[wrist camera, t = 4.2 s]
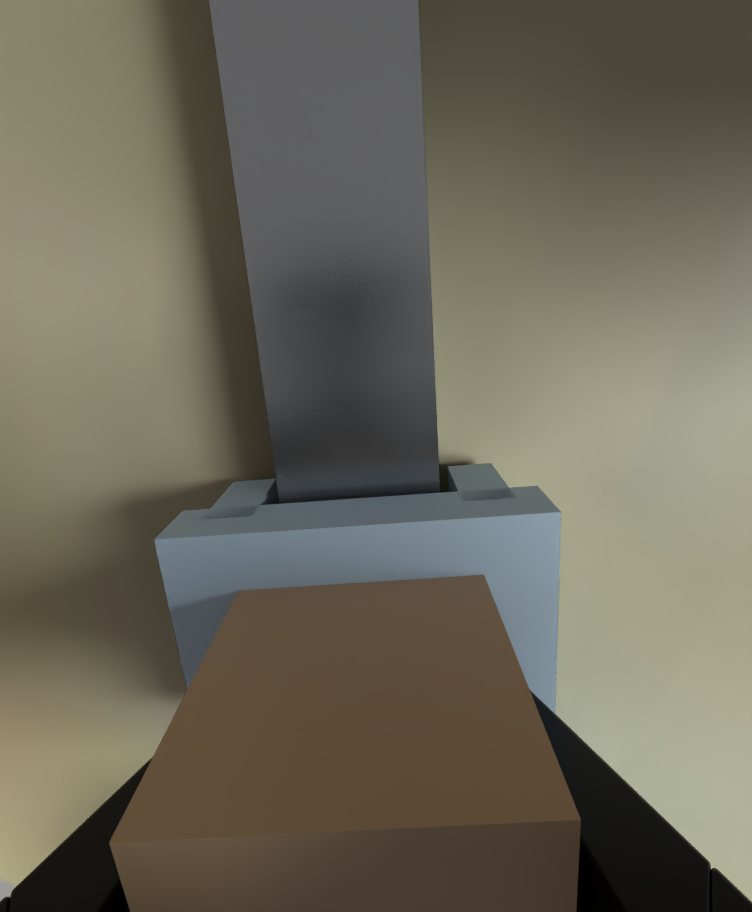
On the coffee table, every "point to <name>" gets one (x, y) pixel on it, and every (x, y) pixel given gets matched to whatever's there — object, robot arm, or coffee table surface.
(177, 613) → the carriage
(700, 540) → the coffee table surface
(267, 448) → the coffee table surface
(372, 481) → the rail
